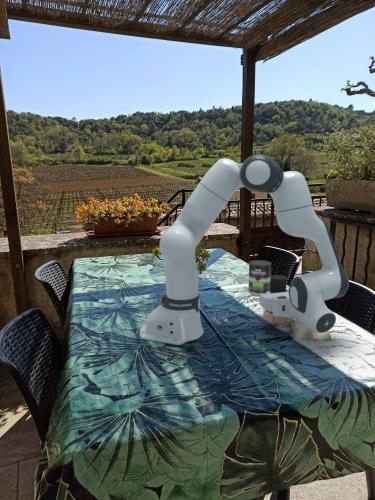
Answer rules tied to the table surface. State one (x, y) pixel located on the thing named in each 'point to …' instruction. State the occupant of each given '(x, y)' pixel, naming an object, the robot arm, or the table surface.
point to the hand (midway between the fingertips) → (276, 292)
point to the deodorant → (278, 284)
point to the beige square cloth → (307, 332)
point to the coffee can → (259, 276)
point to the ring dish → (275, 318)
